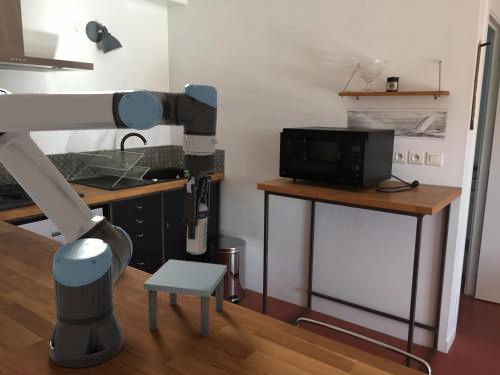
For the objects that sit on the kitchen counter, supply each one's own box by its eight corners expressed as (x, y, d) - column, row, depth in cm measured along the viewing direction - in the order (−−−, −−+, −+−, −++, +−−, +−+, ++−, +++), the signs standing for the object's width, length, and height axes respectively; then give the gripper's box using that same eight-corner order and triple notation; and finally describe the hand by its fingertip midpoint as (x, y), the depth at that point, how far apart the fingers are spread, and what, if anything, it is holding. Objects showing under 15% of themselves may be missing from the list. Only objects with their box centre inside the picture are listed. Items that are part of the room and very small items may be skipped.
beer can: (185, 249, 107) (186, 202, 104) (204, 248, 108) (205, 202, 106) (188, 256, 102) (189, 207, 100) (207, 255, 104) (209, 206, 101)
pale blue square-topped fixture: (208, 338, 100) (209, 291, 98) (144, 330, 103) (143, 283, 101) (226, 307, 115) (226, 265, 113) (169, 300, 118) (169, 259, 116)
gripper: (202, 158, 91) (199, 262, 96) (224, 150, 108) (220, 238, 113) (169, 155, 92) (167, 258, 97) (196, 147, 109) (193, 235, 114)
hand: (196, 247), depth 105 cm, fingers closed on beer can, 5 cm apart
